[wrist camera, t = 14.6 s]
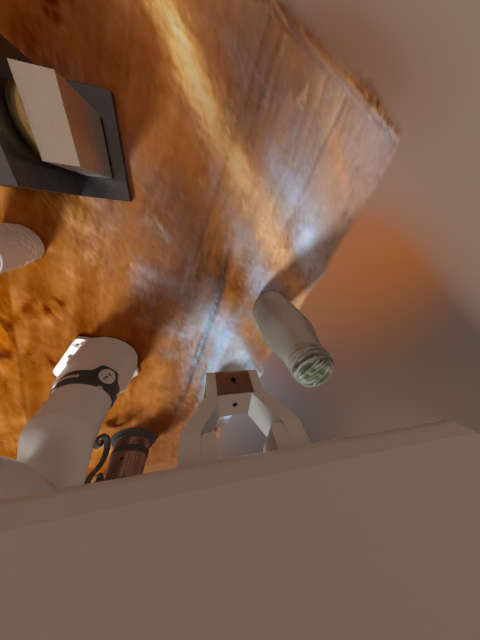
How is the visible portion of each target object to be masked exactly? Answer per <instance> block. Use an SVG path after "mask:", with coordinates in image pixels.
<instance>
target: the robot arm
mask: <svg viewBox="0 0 480 640" xmlns="http://www.w3.org/2000/svg"><path fill="white" fill-rule="evenodd" d="M137 363H138V356H137V353H136V351H135V350H134V349H133V348H132V347H131V346H130V345H129V344H127V343H125V342H123V341H121V340H119V339H115V338H111V337H96V338H90V337H84V336H78V337H76V338H75V339H74V341H73V342H72V344H71V345H70V346H69V348H68V349H67V351H66V352H65V354H64V355H63V356H62V358H61V359H60V361H59V362H58V364H57V365H56V366H55V368H54V369H53V373H54V375H55V376H56V377H57V378H56V380H55V381H54V382H53V384H52V386H53V388H52V390H51V392H50V395H49V397H48V399H47V400H46V401H45V402H44V403H43V404H42V405H41V407H40V408H39V409H38V411H37V412H36V413H35V414H34V415H33V417H32V418H31V419H30V420H29V422H28V423H27V424H26V425H25V426H24V428H23V430H22V432H21V434H20V436H19V440H18V454H17V459H16V460H14V459H11V458H8V457H4V456H0V640H480V435H479V434H477V433H476V432H474V431H472V430H469V429H467V428H466V427H464V426H462V425H459V424H457V423H455V422H453V421H449V420H441V421H435V422H429V423H423V424H418V425H412V426H407V427H401V428H395V429H390V430H385V431H379V432H373V433H368V434H362V435H357V436H352V437H346V438H340V439H335V440H329V441H323V442H318V443H312V444H311V443H310V441H309V439H308V437H307V435H306V433H305V431H304V428H303V426H302V424H301V422H300V420H299V419H298V418H297V417H296V416H295V415H293V413H291V412H290V411H289V410H288V409H286V408H285V407H284V406H283V405H282V404H281V403H279V402H278V401H277V400H276V399H275V398H273V397H272V396H271V395H270V394H269V393H268V392H266V391H263V388H262V385H261V383H260V380H259V377H258V374H257V372H256V370H243V371H231V372H215V373H206V397H205V398H204V399H203V401H202V402H201V404H200V405H199V407H198V409H197V410H196V412H195V413H194V415H193V416H192V418H191V419H190V421H189V422H188V424H187V426H186V427H185V429H184V430H183V432H182V433H181V435H180V443H179V453H178V463H177V468H173V469H168V470H161V471H156V472H150V473H145V474H139V475H134V476H128V477H123V478H117V479H111V480H106V481H100V482H95V483H89V484H84V482H85V478H86V473H87V469H88V465H89V461H90V457H91V453H92V449H93V446H94V443H95V440H96V437H97V435H98V433H99V430H100V428H101V426H102V424H103V422H104V419H105V417H106V415H107V413H108V410H109V409H110V408H111V407H112V406H113V404H114V403H115V401H116V399H117V397H118V394H120V393H122V392H124V391H125V390H126V388H127V386H128V384H129V383H130V381H131V379H132V378H133V377H135V376H137V375H138V374H139V369H138V366H137ZM244 413H248V415H249V416H250V417H251V418H252V420H253V421H254V422H255V423H256V424H257V426H258V427H259V428H260V429H261V430H262V432H263V433H264V434H265V435H266V436H267V440H266V443H265V446H264V449H263V452H262V453H256V454H251V455H245V456H239V457H234V458H228V459H223V460H218V454H217V440H216V434H215V433H214V432H213V430H214V428H215V426H216V424H217V421H218V419H219V417H221V416H228V415H234V414H244Z"/></svg>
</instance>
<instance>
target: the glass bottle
mask: <svg viewBox="0 0 480 640" xmlns="http://www.w3.org/2000/svg"><path fill="white" fill-rule="evenodd" d="M253 315H254V318H255V320H256V322H257V324H258V326H259V328H260V331H261V333H262V335H263V338H264V340H265V341H266V343H267V345H268V346H269V347H270V348H271V349H272V350H273V351H274V352H275V353H276V354H277V355H278V356H279V357H280V358H281V359H282V360H283V361H284V363H285V364H286V366H287V367H288V370H289V372H290V374H291V375H292V377H293V378H294V379H295V380H296V381H297V382H298V383H300V384H301V385H302V386H306V387H315V386H318V385H320V384H322V383H323V382H325V381H326V380H327V379H328V378H329V377H330V375H331V373H332V372H333V368H334V362H333V359H332V358H331V356H330V355H329V353H328V352H327V351H326V350H325V349H324V348H323V347H322V346H321V344H320V342H319V340H318V338H317V336H316V333H315V331H314V328H313V326H312V325H311V323H310V322H309V320H308V319H307V318H306V317H305V316H304V315H302V313H301V312H300V311H299V310H298V309H297V308H296V307H295V306H294V305H293V304H291V303H290V302H289V301H288V300H287V299H286V298H285V297H284V296H283V295H282V294H280V293H278V292H275V291H269V292H266V293H264V294H262V295H261V296H260V297H259V298H258V299H257V300H256V302H255V304H254V307H253Z"/></svg>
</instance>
